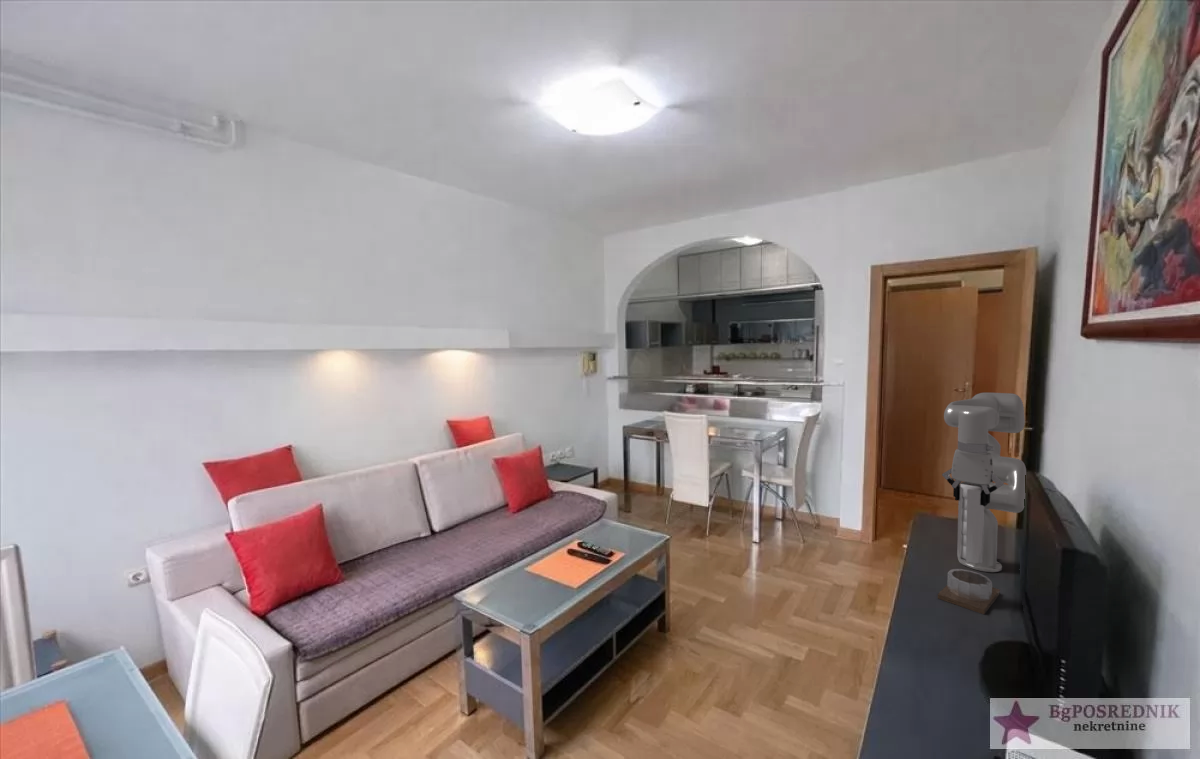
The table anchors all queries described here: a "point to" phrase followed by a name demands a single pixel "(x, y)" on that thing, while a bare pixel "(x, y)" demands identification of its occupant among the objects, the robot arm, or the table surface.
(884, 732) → the table surface
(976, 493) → the silver long cylinder
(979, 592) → the duct collar
